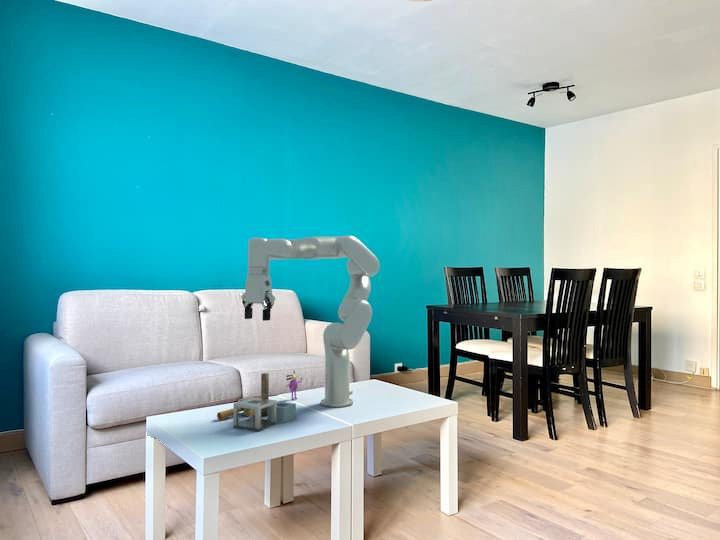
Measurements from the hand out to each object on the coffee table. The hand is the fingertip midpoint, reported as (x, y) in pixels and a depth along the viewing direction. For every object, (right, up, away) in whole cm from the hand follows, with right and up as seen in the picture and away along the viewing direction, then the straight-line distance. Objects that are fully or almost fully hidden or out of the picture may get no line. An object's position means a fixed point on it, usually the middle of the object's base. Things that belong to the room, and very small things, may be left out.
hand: (257, 319), depth 192 cm
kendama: (-5, -35, -2) cm, 35 cm away
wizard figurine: (+10, -35, +23) cm, 43 cm away
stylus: (+3, -34, -2) cm, 34 cm away
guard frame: (+2, -34, -15) cm, 37 cm away
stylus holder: (+10, -34, -7) cm, 36 cm away
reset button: (+2, -31, -15) cm, 35 cm away
